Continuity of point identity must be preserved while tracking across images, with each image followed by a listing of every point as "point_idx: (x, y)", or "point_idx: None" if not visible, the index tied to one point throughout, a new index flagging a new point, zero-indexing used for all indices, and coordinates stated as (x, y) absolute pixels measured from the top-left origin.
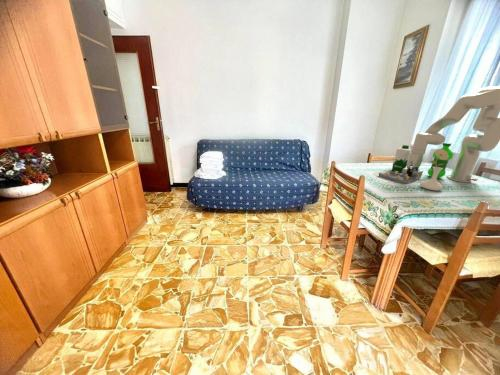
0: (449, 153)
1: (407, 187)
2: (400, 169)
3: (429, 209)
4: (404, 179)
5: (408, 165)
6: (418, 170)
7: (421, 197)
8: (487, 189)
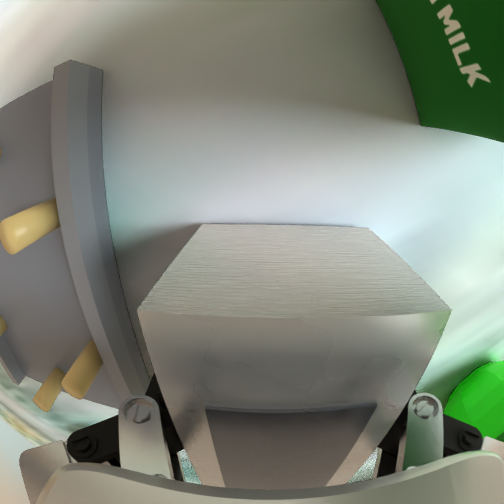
0: None
1: (22, 385)
2: (437, 85)
3: (14, 429)
4: (55, 356)
5: (33, 495)
6: (292, 484)
7: (28, 424)
8: None
